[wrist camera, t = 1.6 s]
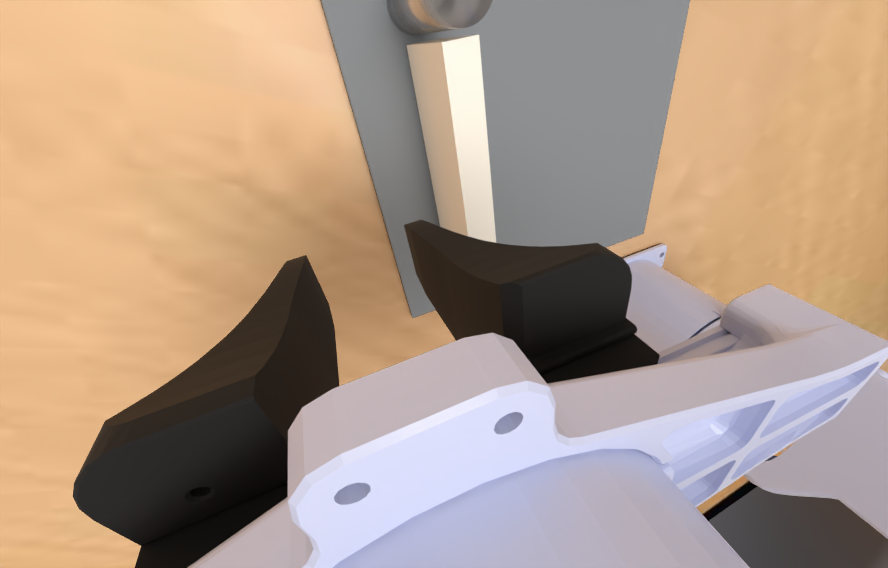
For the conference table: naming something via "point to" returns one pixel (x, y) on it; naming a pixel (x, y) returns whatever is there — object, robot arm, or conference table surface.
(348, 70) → the mat
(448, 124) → the block
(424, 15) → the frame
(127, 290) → the conference table surface
